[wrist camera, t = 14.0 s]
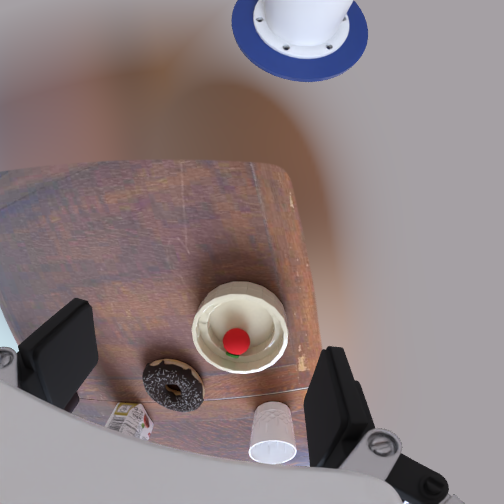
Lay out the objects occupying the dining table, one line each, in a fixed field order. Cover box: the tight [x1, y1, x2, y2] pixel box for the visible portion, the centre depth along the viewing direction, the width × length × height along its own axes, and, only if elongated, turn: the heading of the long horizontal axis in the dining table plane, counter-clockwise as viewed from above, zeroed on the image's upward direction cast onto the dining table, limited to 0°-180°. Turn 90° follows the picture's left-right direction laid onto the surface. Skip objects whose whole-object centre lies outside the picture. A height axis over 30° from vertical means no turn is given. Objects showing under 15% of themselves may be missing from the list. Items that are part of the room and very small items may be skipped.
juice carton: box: [105, 403, 154, 441], centre depth 44 cm, size 8×9×19 cm
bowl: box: [192, 281, 288, 374], centre depth 42 cm, size 13×13×5 cm
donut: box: [143, 359, 205, 412], centre depth 47 cm, size 11×12×4 cm
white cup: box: [249, 401, 296, 464], centre depth 45 cm, size 8×8×10 cm
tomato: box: [223, 328, 250, 358], centre depth 42 cm, size 4×4×4 cm
